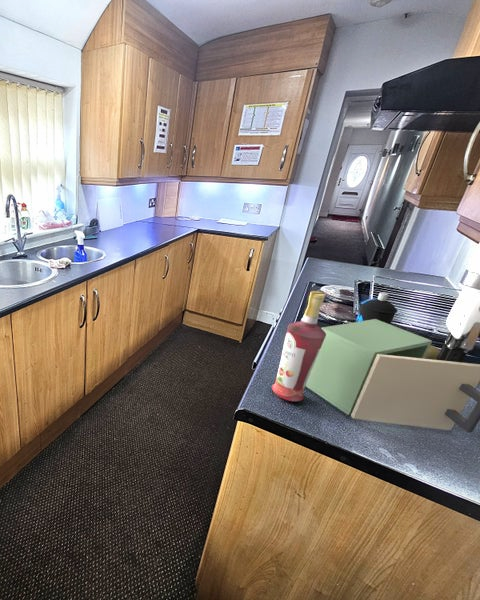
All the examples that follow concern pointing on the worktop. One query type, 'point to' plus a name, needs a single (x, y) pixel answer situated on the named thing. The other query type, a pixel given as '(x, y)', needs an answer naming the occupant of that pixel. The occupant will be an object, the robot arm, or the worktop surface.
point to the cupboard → (357, 358)
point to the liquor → (300, 352)
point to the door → (419, 393)
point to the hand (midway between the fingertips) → (446, 364)
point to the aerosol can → (377, 309)
